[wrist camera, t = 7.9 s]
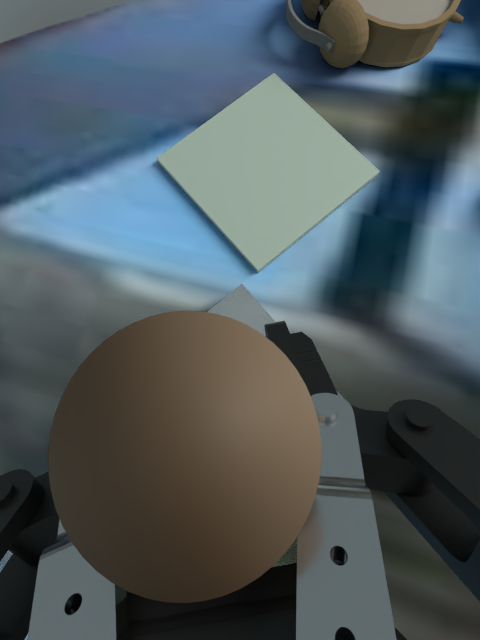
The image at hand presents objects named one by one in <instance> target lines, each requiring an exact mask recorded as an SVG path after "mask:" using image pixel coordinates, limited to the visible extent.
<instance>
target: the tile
mask: <svg viewBox="0 0 480 640" xmlns="http://www.w3.org/2000/svg"><path fill="white" fill-rule="evenodd" d="M157 161H158V163H159V164H160V165H161V166H162V168H163V169H164V170H165V171H166V172H167V173H168V174H169V175H170V176H171V178H172V179H173V180H174V181H175V182H176V183H177V184H178V185H179V186H180V187H181V189H182V190H183V191H184V192H185V193H186V194H187V195H188V196H189V197H190V199H191V200H192V201H193V202H194V203H195V204H196V205H197V206H198V207H199V209H200V210H201V211H202V212H203V213H204V214H205V215H206V216H207V217H208V218H209V220H210V221H211V222H212V223H213V224H214V225H215V226H216V227H217V228H218V230H219V231H220V232H221V233H222V234H223V235H224V236H225V237H226V238H227V240H228V241H229V242H230V243H231V244H232V245H233V246H234V247H235V248H236V249H237V251H238V252H239V253H240V254H241V255H242V256H243V257H244V258H245V259H246V261H247V262H248V263H249V264H250V265H251V266H252V267H253V268H254V269H255V271H256V272H257V273H259V272H260V271H261V270H263V269H264V268H265V267H266V266H267V265H269V264H270V263H271V262H272V261H274V260H275V259H276V258H277V257H278V256H280V255H281V254H282V253H283V252H285V251H286V250H287V249H288V248H290V247H291V246H292V245H293V244H294V243H296V242H297V241H298V240H299V239H301V238H302V237H303V236H304V235H306V234H307V233H308V232H309V231H310V230H312V229H313V228H314V227H315V226H317V225H318V224H319V223H320V222H322V221H323V220H324V219H325V218H326V217H328V216H329V215H330V214H331V213H333V212H334V211H335V210H336V209H337V208H339V207H340V206H341V205H342V204H344V203H345V202H346V201H347V200H349V199H350V198H351V197H352V196H353V195H355V194H356V193H357V192H358V191H360V190H361V189H362V188H363V187H365V186H366V185H367V184H368V183H369V182H371V181H372V180H373V179H374V178H376V177H377V176H378V174H379V172H380V171H379V170H378V169H377V168H376V167H374V166H373V165H372V164H371V163H370V162H369V161H368V160H367V159H366V158H365V157H364V156H363V155H362V154H361V153H359V152H358V151H357V150H356V149H355V148H354V147H353V146H352V145H351V144H350V143H349V142H348V141H347V140H346V139H344V138H343V137H342V136H341V135H340V134H339V133H338V132H337V131H336V130H335V129H334V128H333V127H332V126H330V125H329V124H328V123H327V122H326V121H325V120H324V119H323V118H322V117H321V116H320V115H319V114H318V113H317V112H315V111H314V110H313V109H312V108H311V107H310V106H309V105H308V104H307V103H306V102H305V101H304V100H303V99H301V98H300V97H299V96H298V95H297V94H296V93H295V92H294V91H293V90H292V89H291V88H290V87H289V86H288V85H286V84H285V83H284V82H283V81H282V80H281V79H280V78H279V77H278V76H277V75H276V74H275V73H273V74H272V75H270V76H269V77H268V78H266V79H265V80H263V81H262V82H261V83H259V84H258V85H257V86H255V87H254V88H252V89H251V90H250V91H248V92H247V93H246V94H244V95H243V96H241V97H240V98H239V99H237V100H236V101H235V102H233V103H232V104H231V105H229V106H228V107H226V108H225V109H224V110H222V111H221V112H220V113H218V114H217V115H215V116H214V117H213V118H211V119H210V120H209V121H207V122H206V123H204V124H203V125H202V126H200V127H199V128H198V129H196V130H195V131H193V132H192V133H191V134H189V135H188V136H187V137H185V138H184V139H182V140H181V141H180V142H178V143H177V144H176V145H174V146H173V147H171V148H170V149H169V150H167V151H166V152H165V153H163V154H162V155H160V156H159V157H158V158H157Z"/></svg>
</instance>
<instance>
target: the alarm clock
mask: <svg viewBox="0 0 480 640" xmlns="http://www.w3.org/2000/svg"><path fill="white" fill-rule="evenodd" d="M291 1H292V0H287V4H286V18H287V22H288V23H289V25H290V27H291V29H292V30H293V31H294V32H295V33H296V34H297V35H298V36H299V37H301V38H302V39H304V40H306V41H308V42H310V43H313V44H315V45H318V46H319V48H320V52H321V54H322V56H323V58H324V59H325V60H326V61H327V63H328V64H330V65H332V66H333V67H336V68H345V67H348V66H351V65H353V64H355V63H356V62H357V61H358V60H359V61H361V62H363V63H365V64H370V65H375V66H380V67H399V66H405V65H408V64H411V63H414V62H416V61H419V60H421V59H422V58H423V57H424V56H425V55H427V54H428V53H429V52H430V51H431V50H432V49H433V47H434V45H435V43H436V42H437V40H438V38H439V36H440V34H441V33H442V31H443V29H444V28H445V26H446V24H447V23H448V21H451V22H453V23H461V22H462V21H463V19H464V17H463V16H461V15H460V14H459V13H456V12H455V11H456V9H457V7H458V5H459V3H460V1H461V0H322V5H320V6H319V4H320V0H301V5H302V9H303V12H304V13H305V15H306V16H307V17H308V18H309V19H311V20H314V21H315V19H316V16H317V12H318V8H319V11H320V16H321V20H320V23H319V29H318V30H316V29H313V28H311V27H309V26H307V25H306V24H305V23H303V22H302V21H301V20H300V19H299V18H298V16H297V15H296V14H295V12H294V10H293V8H292V4H291Z"/></svg>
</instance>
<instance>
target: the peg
mask: <svg viewBox="0 0 480 640" xmlns="http://www.w3.org/2000/svg"><path fill="white" fill-rule="evenodd" d="M321 459H322V455H321V435H320V429H319V423H318V418H317V414H316V411H315V407H314V404H313V401H312V398H311V396H310V394H309V391H308V389H307V387H306V385H305V383H304V381H303V379H302V378H301V376H300V374H299V373H298V371H297V369H296V368H295V367H294V365H293V364H292V363H291V361H290V360H289V359H288V358H287V356H286V355H285V354H284V353H283V352H282V351H281V350H280V349H279V348H278V347H277V346H276V345H275V344H274V343H273V342H272V341H270V340H269V339H268V338H266V337H265V336H264V335H262V334H261V333H260V332H258V331H256V330H255V329H253V328H251V327H250V326H248V325H246V324H244V323H242V322H239V321H237V320H234V319H232V318H229V317H226V316H222V315H219V314H215V313H208V312H201V311H177V312H168V313H163V314H159V315H155V316H151V317H148V318H145V319H142V320H140V321H137V322H135V323H132V324H131V325H129V326H127V327H125V328H123V329H121V330H119V331H118V332H116V333H115V334H114V335H112V336H111V337H109V338H108V339H107V340H105V341H104V342H103V343H102V344H101V345H99V346H98V347H97V348H96V349H95V350H94V351H93V352H92V353H91V354H90V355H89V356H88V357H87V359H86V360H85V361H84V362H83V363H82V364H81V365H80V367H79V368H78V370H77V371H76V373H75V374H74V376H73V377H72V378H71V380H70V382H69V384H68V386H67V387H66V389H65V391H64V393H63V395H62V397H61V400H60V402H59V405H58V408H57V410H56V413H55V417H54V421H53V425H52V428H51V433H50V441H49V449H48V472H49V481H50V489H51V493H52V497H53V501H54V505H55V508H56V511H57V513H58V516H59V519H60V521H61V524H62V526H63V528H64V530H65V531H66V533H67V535H68V537H69V539H70V541H71V542H72V543H73V545H74V546H75V548H76V549H77V550H78V552H79V553H80V554H81V556H82V557H83V558H84V559H85V560H86V561H87V562H88V563H89V564H90V565H91V566H92V567H93V568H94V569H95V570H96V571H97V572H98V573H100V574H101V575H102V576H104V577H105V578H106V579H108V580H109V581H110V582H112V583H113V584H115V585H117V586H119V587H121V588H122V589H124V590H126V591H128V592H131V593H133V594H136V595H139V596H141V597H144V598H147V599H152V600H157V601H162V602H173V603H190V602H199V601H206V600H210V599H214V598H218V597H221V596H225V595H227V594H229V593H232V592H234V591H236V590H239V589H241V588H243V587H244V586H246V585H248V584H249V583H251V582H253V581H254V580H256V579H257V578H259V577H260V576H261V575H263V574H264V573H265V572H266V571H267V570H269V569H270V568H271V567H272V566H274V565H275V564H276V562H277V561H278V560H279V559H280V558H281V557H282V556H283V555H284V554H285V553H286V552H287V550H288V549H289V548H290V546H291V545H292V543H293V542H294V540H295V539H296V538H297V536H298V535H299V533H300V531H301V529H302V527H303V525H304V524H305V522H306V520H307V518H308V516H309V513H310V510H311V508H312V505H313V502H314V499H315V496H316V492H317V487H318V483H319V478H320V469H321Z"/></svg>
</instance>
